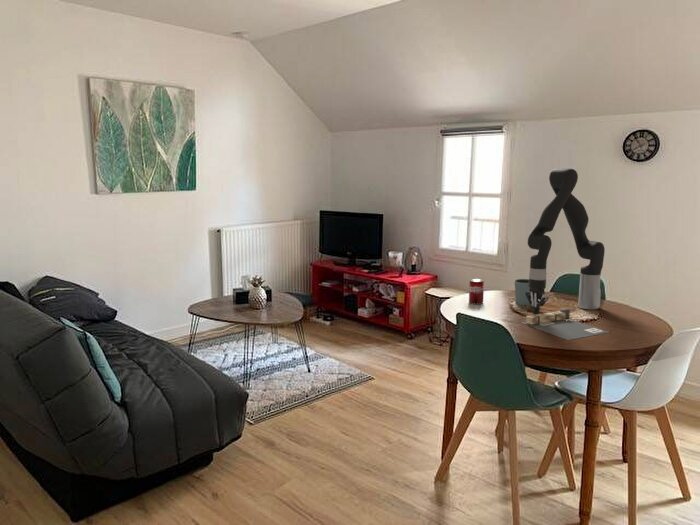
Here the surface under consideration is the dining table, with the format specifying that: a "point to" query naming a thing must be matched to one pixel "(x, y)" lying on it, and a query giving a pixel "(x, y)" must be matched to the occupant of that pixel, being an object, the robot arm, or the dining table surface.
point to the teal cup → (521, 291)
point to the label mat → (567, 329)
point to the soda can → (476, 291)
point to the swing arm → (548, 316)
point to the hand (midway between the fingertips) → (535, 314)
